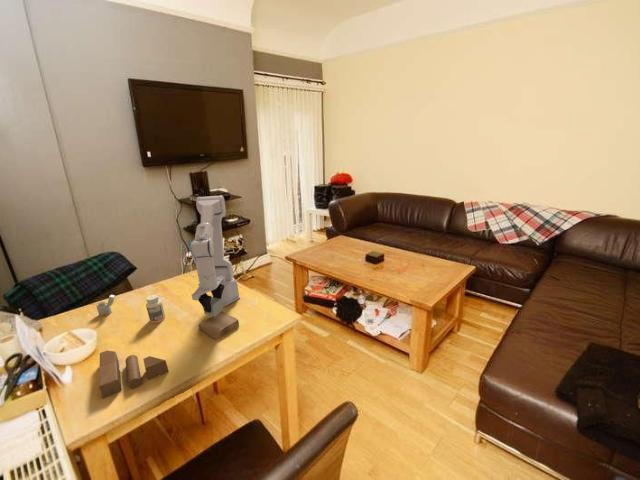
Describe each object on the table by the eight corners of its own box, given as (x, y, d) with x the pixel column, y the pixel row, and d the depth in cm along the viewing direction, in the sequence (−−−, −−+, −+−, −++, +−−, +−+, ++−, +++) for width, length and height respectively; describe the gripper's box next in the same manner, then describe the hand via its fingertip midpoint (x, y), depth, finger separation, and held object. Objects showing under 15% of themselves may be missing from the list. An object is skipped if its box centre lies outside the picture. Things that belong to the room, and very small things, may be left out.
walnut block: (222, 317, 122) (221, 311, 121) (239, 326, 117) (238, 319, 116) (199, 331, 115) (198, 324, 114) (216, 341, 109) (214, 333, 108)
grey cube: (213, 307, 116) (211, 296, 115) (223, 309, 114) (221, 298, 113) (204, 314, 112) (202, 303, 111) (214, 316, 111) (212, 305, 109)
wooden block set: (96, 386, 84) (97, 349, 99) (103, 402, 86) (102, 364, 101) (165, 359, 93) (156, 329, 107) (169, 375, 95) (160, 343, 109)
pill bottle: (153, 315, 125) (147, 294, 121) (167, 314, 125) (162, 292, 122) (147, 324, 120) (141, 301, 116) (162, 322, 120) (156, 300, 117)
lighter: (99, 315, 127) (93, 298, 124) (101, 313, 128) (95, 295, 126) (117, 313, 127) (112, 296, 125) (119, 311, 129) (114, 294, 126)
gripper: (211, 263, 116) (217, 296, 121) (181, 281, 103) (189, 316, 108) (227, 266, 113) (232, 299, 118) (198, 284, 101) (205, 320, 105)
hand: (213, 307), depth 113 cm, fingers closed on grey cube, 4 cm apart
